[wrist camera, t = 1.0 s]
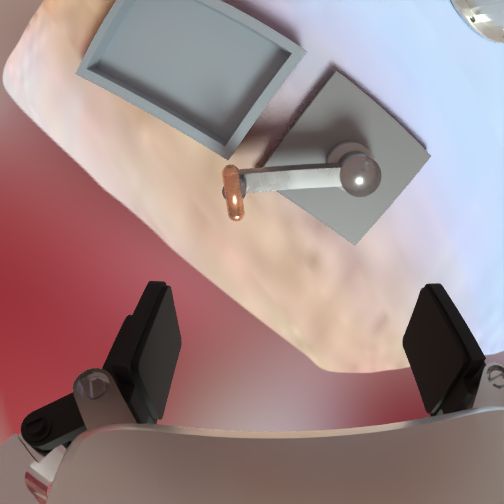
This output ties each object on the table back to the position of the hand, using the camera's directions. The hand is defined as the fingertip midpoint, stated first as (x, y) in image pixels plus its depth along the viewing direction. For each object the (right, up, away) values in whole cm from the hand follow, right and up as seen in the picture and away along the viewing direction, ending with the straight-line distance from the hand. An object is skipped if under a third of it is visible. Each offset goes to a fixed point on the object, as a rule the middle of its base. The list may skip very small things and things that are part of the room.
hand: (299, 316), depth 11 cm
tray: (-8, +22, +16) cm, 28 cm away
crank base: (+9, +12, +21) cm, 26 cm away
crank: (+3, +10, +19) cm, 21 cm away
